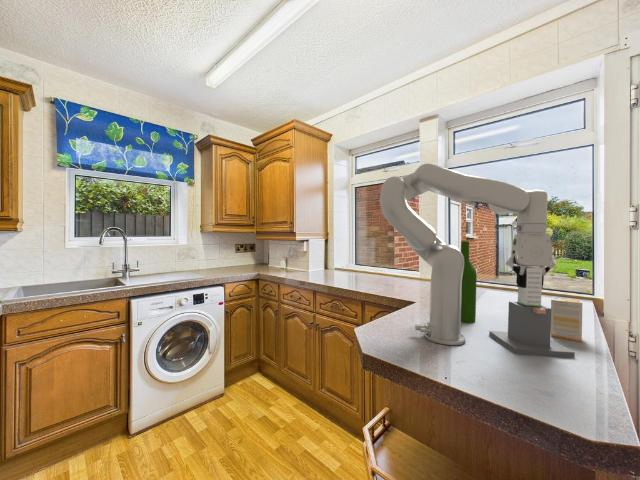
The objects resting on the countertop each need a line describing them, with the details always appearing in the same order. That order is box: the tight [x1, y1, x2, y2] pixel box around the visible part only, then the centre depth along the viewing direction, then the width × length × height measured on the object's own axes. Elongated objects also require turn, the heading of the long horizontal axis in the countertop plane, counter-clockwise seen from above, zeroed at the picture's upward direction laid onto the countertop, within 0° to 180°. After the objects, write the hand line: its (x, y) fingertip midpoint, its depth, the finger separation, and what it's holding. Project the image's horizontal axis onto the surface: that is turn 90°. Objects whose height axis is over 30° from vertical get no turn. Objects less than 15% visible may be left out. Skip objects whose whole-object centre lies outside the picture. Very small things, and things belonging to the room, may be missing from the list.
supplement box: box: [550, 297, 583, 342], centre depth 99 cm, size 8×5×13 cm, turn 48°
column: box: [516, 266, 543, 307], centre depth 91 cm, size 5×5×19 cm
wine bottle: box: [460, 240, 478, 324], centre depth 118 cm, size 9×9×32 cm
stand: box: [488, 300, 576, 358], centre depth 91 cm, size 16×16×13 cm
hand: (529, 286), depth 91 cm, fingers closed on column, 4 cm apart
